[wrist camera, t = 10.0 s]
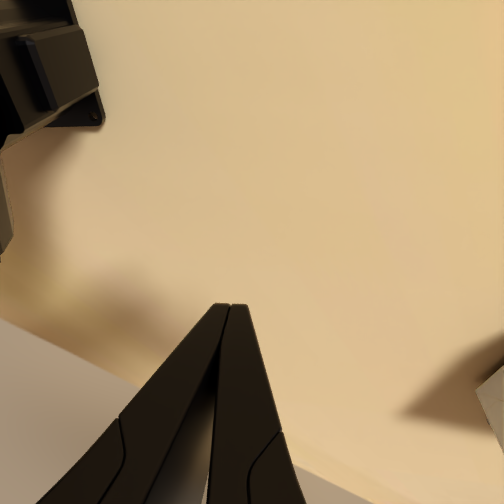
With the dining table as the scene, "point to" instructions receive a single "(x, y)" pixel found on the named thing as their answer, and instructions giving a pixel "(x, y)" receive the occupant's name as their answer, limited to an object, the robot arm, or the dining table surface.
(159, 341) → the dining table surface
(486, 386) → the light bulb box
